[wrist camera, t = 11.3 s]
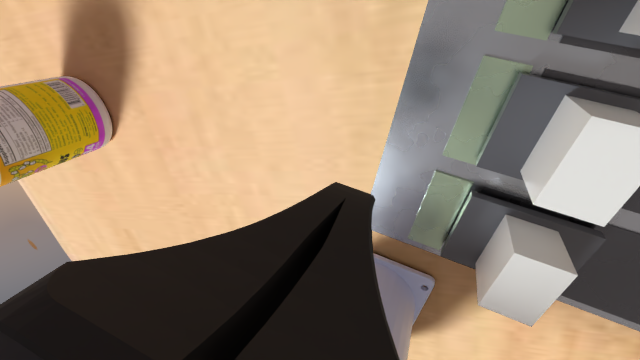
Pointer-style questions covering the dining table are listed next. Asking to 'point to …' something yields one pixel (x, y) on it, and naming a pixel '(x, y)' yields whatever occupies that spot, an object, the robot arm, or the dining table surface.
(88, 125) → the supplement bottle
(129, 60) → the dining table surface
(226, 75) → the dining table surface
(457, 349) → the dining table surface
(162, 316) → the robot arm
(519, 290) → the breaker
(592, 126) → the breaker mid
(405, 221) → the panel
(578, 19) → the block
